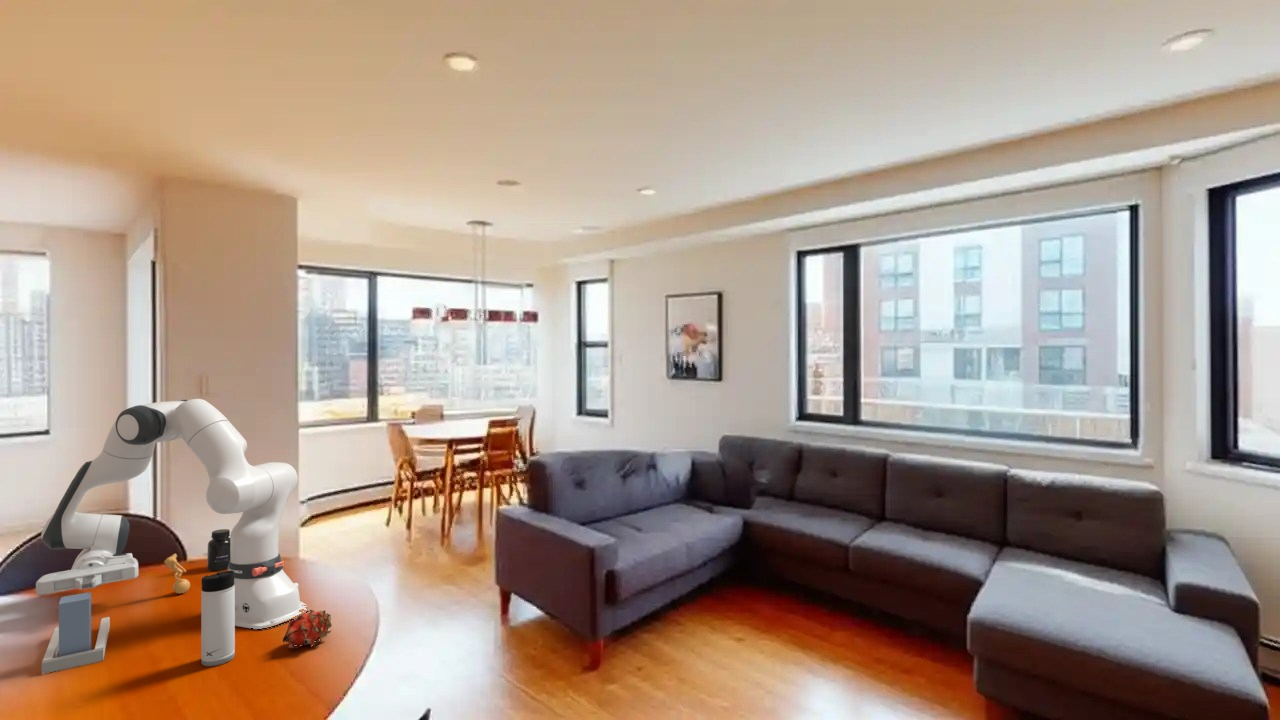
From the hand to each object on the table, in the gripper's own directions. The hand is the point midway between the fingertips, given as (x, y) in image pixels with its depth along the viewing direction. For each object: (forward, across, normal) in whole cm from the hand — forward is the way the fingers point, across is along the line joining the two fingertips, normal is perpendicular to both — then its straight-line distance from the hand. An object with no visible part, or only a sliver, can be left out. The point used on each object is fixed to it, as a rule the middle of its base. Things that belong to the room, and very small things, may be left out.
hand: (87, 585), depth 157 cm
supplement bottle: (-28, +30, +10) cm, 42 cm away
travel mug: (+42, +25, +11) cm, 50 cm away
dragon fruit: (+46, +42, +11) cm, 64 cm away
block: (+22, 0, +10) cm, 25 cm away
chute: (+16, 0, +10) cm, 19 cm away
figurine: (-10, +19, +10) cm, 23 cm away
